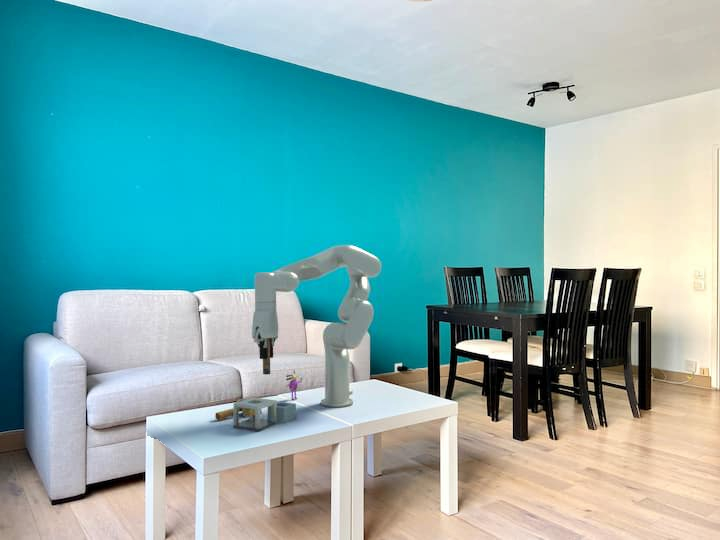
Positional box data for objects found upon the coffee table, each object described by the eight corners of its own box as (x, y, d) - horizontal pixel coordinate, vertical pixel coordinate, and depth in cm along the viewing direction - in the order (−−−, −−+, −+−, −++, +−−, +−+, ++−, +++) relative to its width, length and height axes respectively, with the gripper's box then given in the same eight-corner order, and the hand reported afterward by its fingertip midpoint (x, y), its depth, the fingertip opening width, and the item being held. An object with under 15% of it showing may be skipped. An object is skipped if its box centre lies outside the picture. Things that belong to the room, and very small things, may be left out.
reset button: (254, 414, 179) (254, 408, 179) (263, 416, 178) (263, 410, 178) (246, 417, 176) (246, 411, 176) (256, 419, 174) (256, 412, 174)
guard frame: (252, 420, 183) (252, 397, 183) (276, 424, 179) (276, 400, 179) (233, 427, 174) (233, 403, 175) (258, 431, 170) (258, 406, 170)
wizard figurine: (288, 402, 209) (288, 372, 210) (281, 401, 211) (281, 371, 211) (304, 397, 219) (304, 368, 220) (298, 396, 221) (298, 367, 221)
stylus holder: (279, 415, 190) (279, 401, 190) (295, 418, 187) (295, 403, 187) (267, 420, 184) (267, 405, 184) (284, 422, 181) (284, 408, 181)
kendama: (225, 427, 180) (268, 410, 193) (221, 409, 180) (265, 393, 193) (214, 427, 185) (256, 410, 198) (210, 409, 186) (253, 393, 199)
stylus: (265, 372, 192) (265, 331, 192) (271, 373, 191) (271, 331, 191) (261, 374, 190) (260, 332, 190) (267, 374, 189) (266, 332, 189)
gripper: (270, 305, 199) (271, 354, 199) (242, 308, 185) (243, 361, 185) (287, 305, 196) (288, 355, 196) (260, 308, 181) (261, 362, 181)
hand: (266, 357), depth 190 cm, fingers closed on stylus, 2 cm apart
